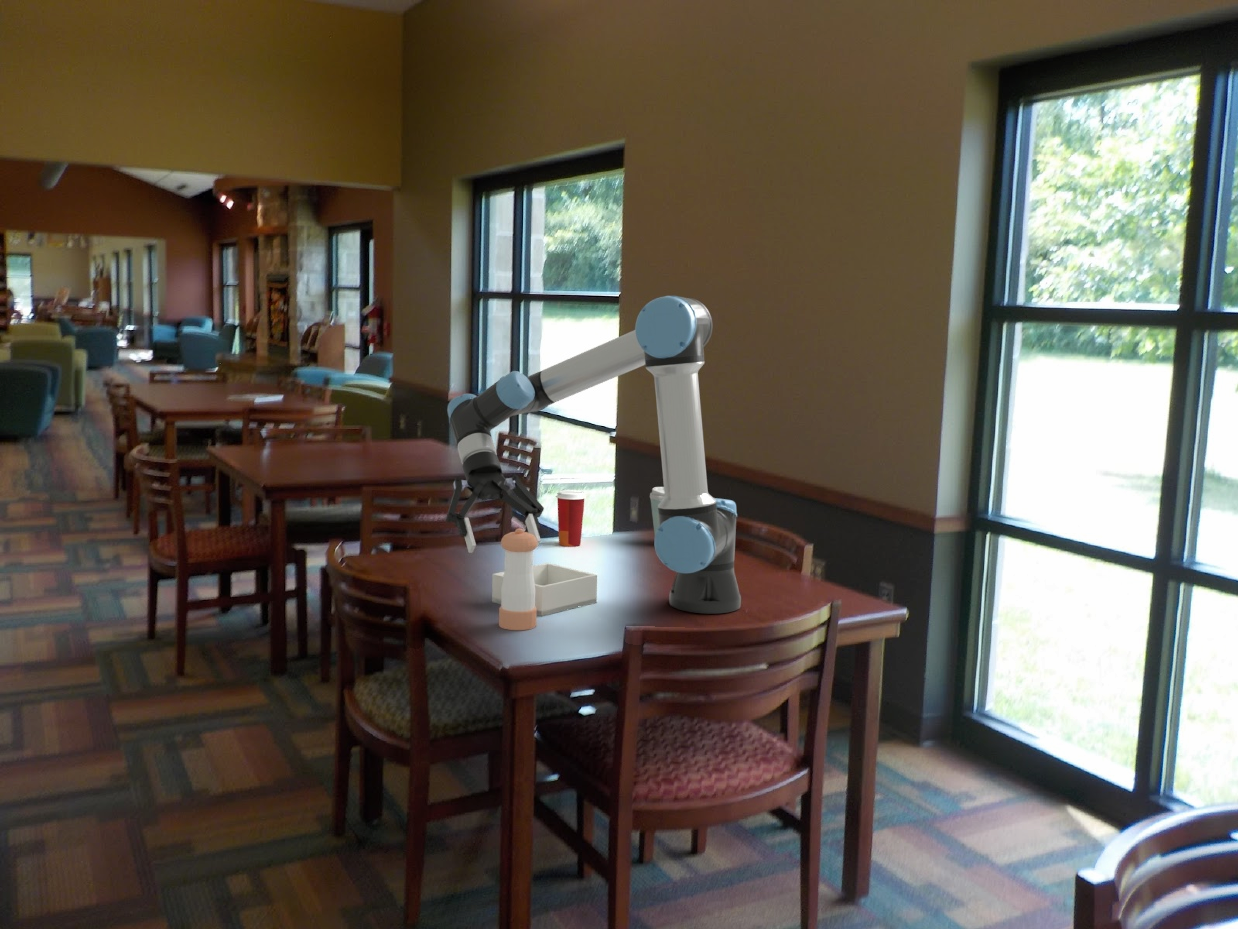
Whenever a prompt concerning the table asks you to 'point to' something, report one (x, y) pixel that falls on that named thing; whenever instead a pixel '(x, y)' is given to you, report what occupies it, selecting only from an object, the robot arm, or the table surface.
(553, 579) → the bin
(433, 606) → the table surface
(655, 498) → the disposable coffee cup
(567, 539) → the paper cup
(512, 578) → the salt shaker
